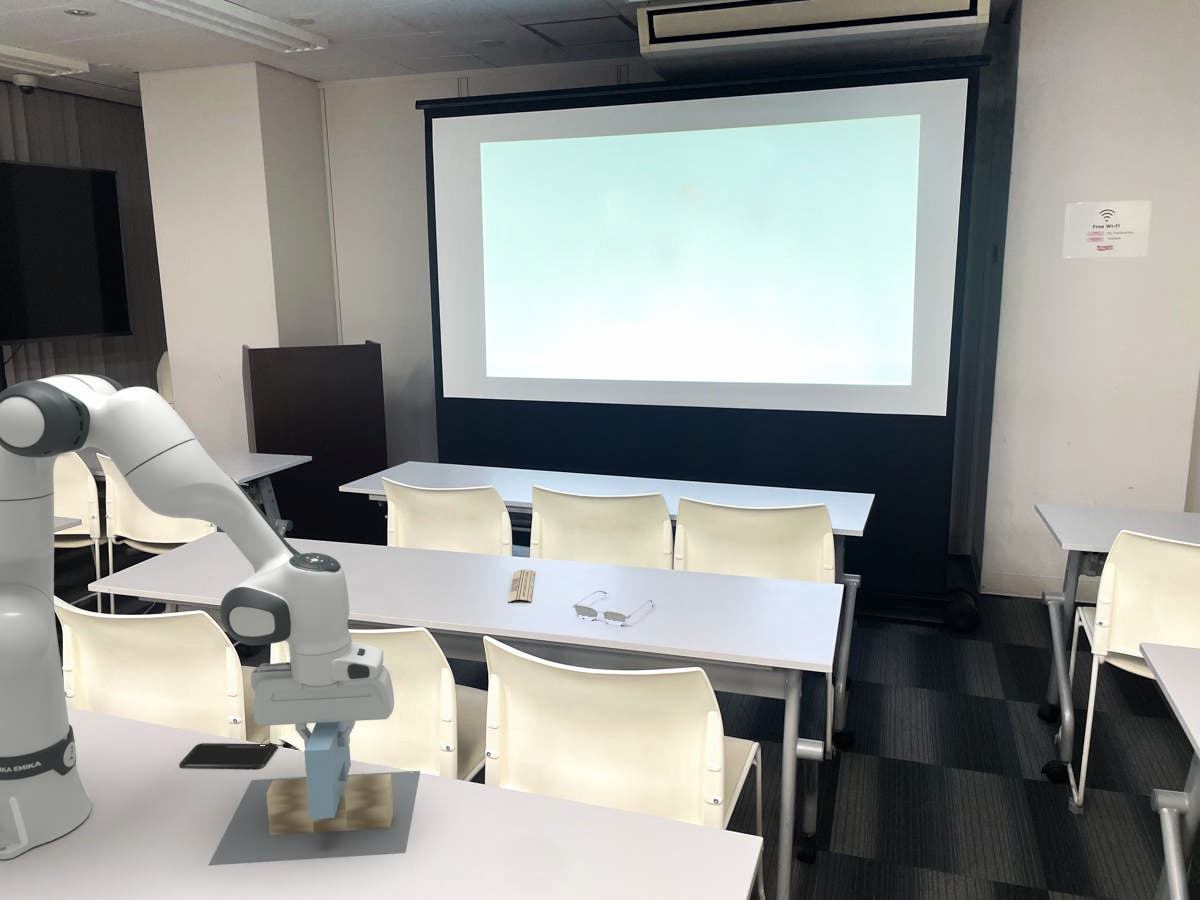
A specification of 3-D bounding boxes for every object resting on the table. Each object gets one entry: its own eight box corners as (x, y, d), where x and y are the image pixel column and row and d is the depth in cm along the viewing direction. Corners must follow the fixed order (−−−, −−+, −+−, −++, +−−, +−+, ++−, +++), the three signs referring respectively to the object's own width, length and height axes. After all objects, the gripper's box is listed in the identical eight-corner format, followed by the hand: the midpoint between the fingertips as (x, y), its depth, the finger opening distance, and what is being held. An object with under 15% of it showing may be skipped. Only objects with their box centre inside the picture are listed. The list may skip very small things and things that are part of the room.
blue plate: (309, 819, 130) (304, 750, 127) (328, 766, 143) (324, 703, 141) (334, 817, 130) (329, 749, 128) (350, 765, 144) (346, 702, 141)
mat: (208, 867, 128) (208, 865, 128) (251, 782, 150) (251, 779, 149) (405, 855, 131) (405, 852, 131) (420, 772, 152) (420, 770, 152)
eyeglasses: (572, 619, 221) (572, 603, 220) (606, 596, 237) (606, 581, 236) (627, 630, 214) (627, 615, 213) (658, 606, 230) (658, 591, 229)
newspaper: (531, 605, 231) (531, 599, 230) (503, 606, 230) (503, 599, 230) (535, 575, 254) (535, 569, 253) (510, 575, 253) (510, 569, 253)
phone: (262, 767, 153) (176, 766, 153) (263, 773, 153) (177, 772, 153) (280, 743, 160) (198, 742, 161) (280, 749, 161) (198, 748, 161)
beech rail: (269, 835, 135) (266, 793, 133) (275, 821, 138) (272, 780, 137) (390, 827, 137) (388, 786, 135) (393, 814, 140) (391, 774, 139)
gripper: (243, 673, 128) (251, 761, 131) (387, 667, 130) (392, 753, 133) (255, 655, 134) (262, 738, 137) (393, 649, 136) (397, 731, 139)
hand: (327, 745), depth 135 cm, fingers closed on blue plate, 3 cm apart
